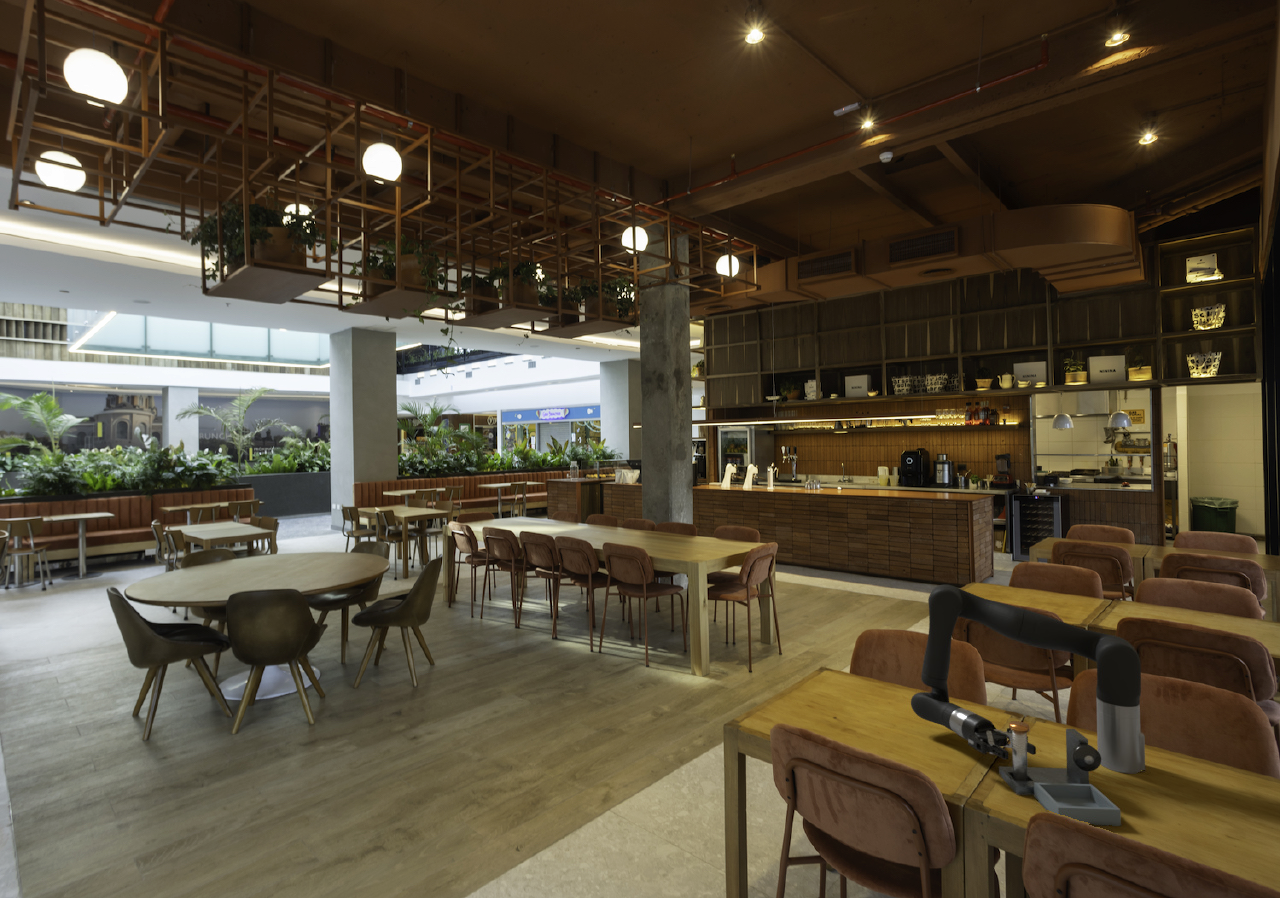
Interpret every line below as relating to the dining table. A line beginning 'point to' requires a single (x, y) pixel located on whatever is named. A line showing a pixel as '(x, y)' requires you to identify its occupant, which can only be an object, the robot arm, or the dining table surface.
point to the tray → (1078, 802)
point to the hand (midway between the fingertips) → (1021, 753)
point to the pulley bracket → (1077, 770)
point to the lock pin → (1019, 750)
